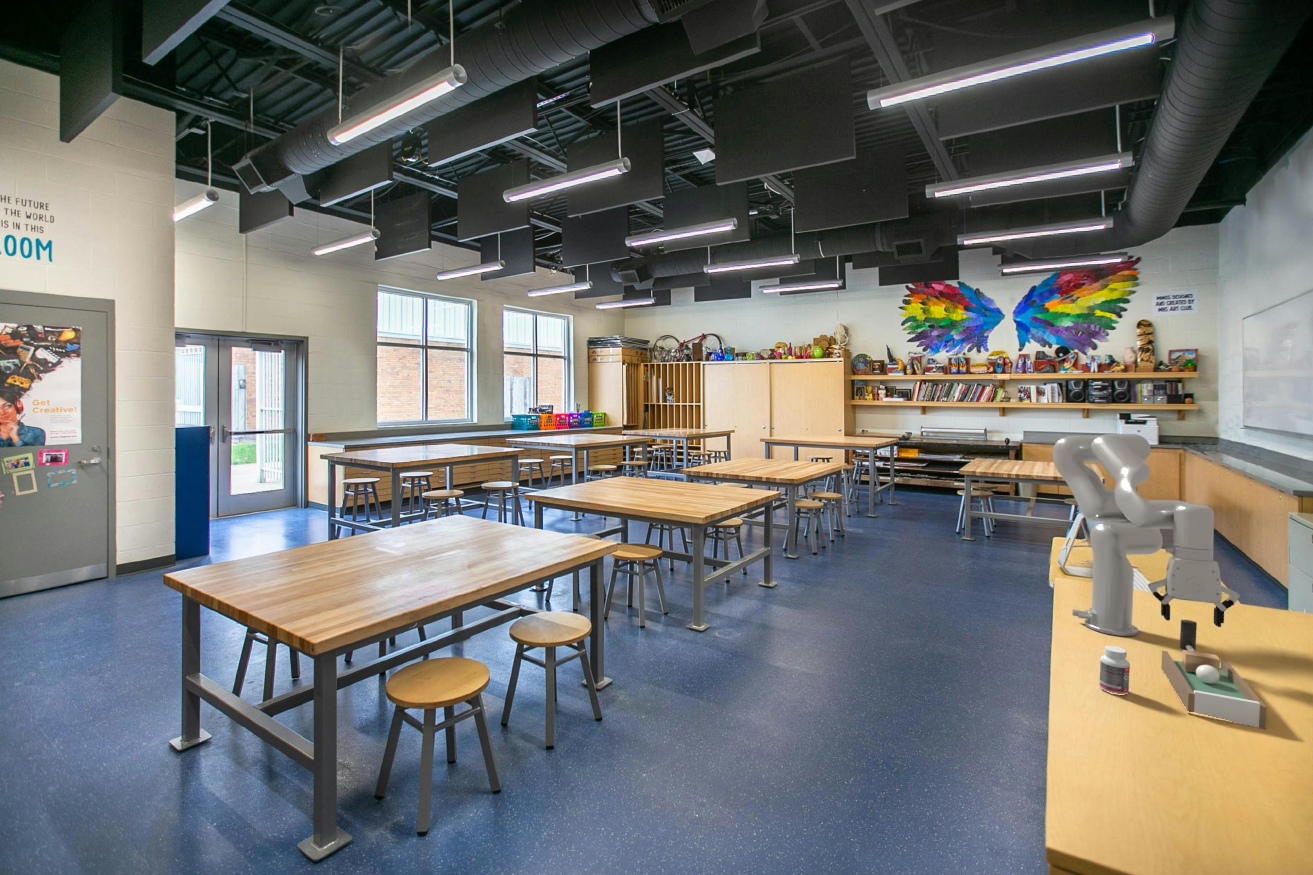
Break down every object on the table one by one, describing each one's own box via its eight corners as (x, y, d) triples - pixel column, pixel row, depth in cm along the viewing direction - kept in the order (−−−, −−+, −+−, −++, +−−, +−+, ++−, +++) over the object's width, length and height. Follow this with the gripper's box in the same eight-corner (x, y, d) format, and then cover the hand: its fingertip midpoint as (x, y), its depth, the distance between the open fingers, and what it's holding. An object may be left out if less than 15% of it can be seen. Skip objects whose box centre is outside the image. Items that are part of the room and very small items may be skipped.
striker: (1185, 670, 142) (1186, 636, 142) (1170, 648, 155) (1171, 617, 155) (1219, 676, 139) (1220, 641, 139) (1201, 653, 152) (1202, 622, 151)
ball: (1198, 684, 136) (1198, 666, 136) (1193, 677, 139) (1194, 660, 139) (1221, 688, 134) (1222, 670, 134) (1216, 681, 137) (1217, 664, 137)
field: (1187, 713, 128) (1188, 690, 127) (1161, 668, 150) (1162, 648, 150) (1265, 728, 122) (1266, 704, 121) (1225, 679, 144) (1226, 658, 144)
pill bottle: (1130, 698, 134) (1132, 655, 134) (1100, 692, 137) (1102, 650, 137) (1126, 688, 139) (1127, 647, 139) (1097, 683, 142) (1099, 642, 141)
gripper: (1151, 553, 152) (1150, 620, 152) (1244, 560, 143) (1243, 632, 143) (1145, 547, 158) (1144, 612, 159) (1234, 555, 149) (1233, 623, 150)
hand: (1191, 622), depth 151 cm, fingers open, 9 cm apart
